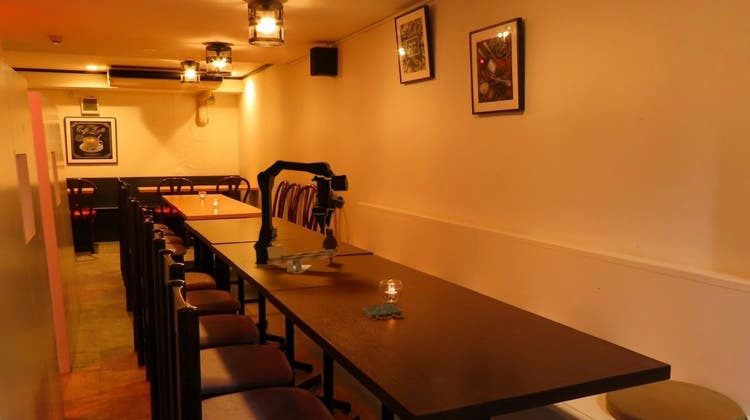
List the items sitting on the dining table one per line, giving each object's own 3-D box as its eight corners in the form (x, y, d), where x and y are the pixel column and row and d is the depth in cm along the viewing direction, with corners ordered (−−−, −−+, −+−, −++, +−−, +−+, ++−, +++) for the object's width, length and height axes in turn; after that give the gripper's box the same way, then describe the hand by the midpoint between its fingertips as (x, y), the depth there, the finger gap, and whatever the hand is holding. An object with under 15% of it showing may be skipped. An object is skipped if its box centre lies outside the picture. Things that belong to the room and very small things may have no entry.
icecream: (341, 262, 256) (340, 228, 254) (326, 264, 253) (324, 230, 251) (335, 259, 262) (333, 226, 260) (320, 261, 259) (318, 228, 257)
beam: (267, 265, 239) (266, 260, 239) (274, 261, 247) (273, 256, 247) (333, 257, 234) (332, 252, 234) (338, 253, 242) (337, 248, 242)
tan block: (269, 261, 240) (267, 247, 240) (273, 259, 245) (271, 245, 245) (280, 260, 239) (278, 246, 239) (284, 258, 244) (282, 243, 244)
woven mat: (370, 322, 170) (370, 315, 169) (361, 312, 180) (361, 306, 180) (404, 317, 172) (404, 310, 172) (394, 308, 183) (393, 302, 182)
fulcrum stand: (276, 275, 235) (275, 263, 234) (289, 267, 250) (288, 255, 250) (300, 275, 233) (299, 263, 232) (311, 266, 249) (310, 255, 248)
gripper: (337, 193, 236) (338, 231, 238) (347, 189, 255) (348, 224, 256) (310, 193, 238) (312, 231, 240) (322, 190, 257) (324, 225, 258)
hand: (325, 228), depth 249 cm, fingers open, 9 cm apart
